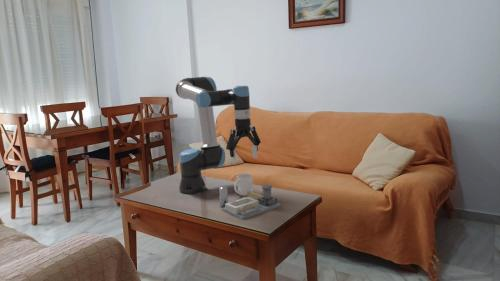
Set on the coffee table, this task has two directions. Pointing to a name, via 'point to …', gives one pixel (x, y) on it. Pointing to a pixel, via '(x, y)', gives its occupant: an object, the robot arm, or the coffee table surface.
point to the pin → (223, 196)
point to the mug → (243, 184)
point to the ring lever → (260, 198)
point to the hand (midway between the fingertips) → (244, 160)
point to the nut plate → (250, 205)
